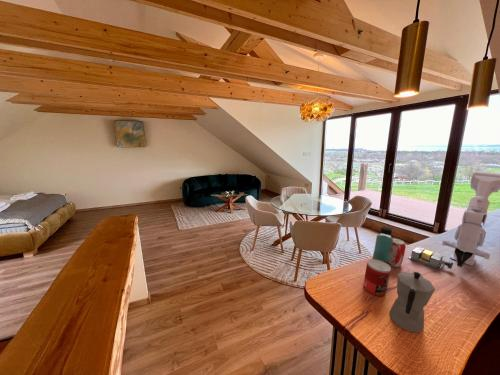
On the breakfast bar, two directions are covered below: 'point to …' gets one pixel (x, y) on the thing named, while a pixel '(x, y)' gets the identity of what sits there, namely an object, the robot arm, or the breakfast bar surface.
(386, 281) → the canned food
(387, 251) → the beverage bottle
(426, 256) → the block
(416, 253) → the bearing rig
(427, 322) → the breakfast bar surface
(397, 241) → the soda can
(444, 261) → the shaft
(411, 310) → the coffeepot
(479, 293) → the breakfast bar surface
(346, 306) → the breakfast bar surface
